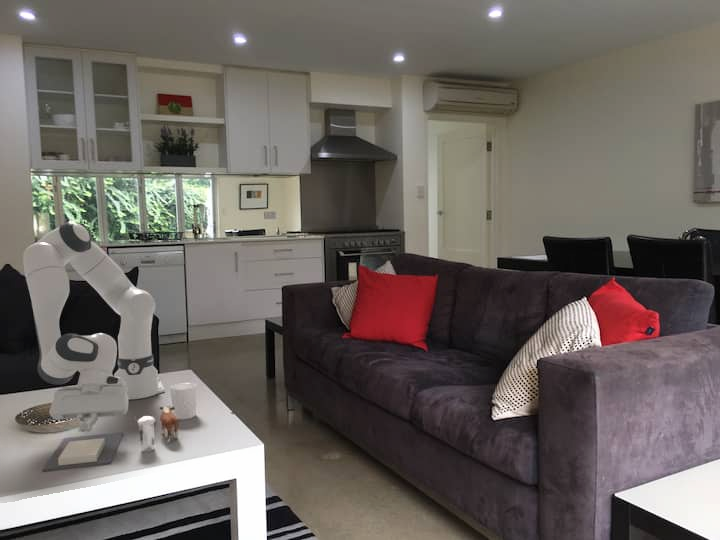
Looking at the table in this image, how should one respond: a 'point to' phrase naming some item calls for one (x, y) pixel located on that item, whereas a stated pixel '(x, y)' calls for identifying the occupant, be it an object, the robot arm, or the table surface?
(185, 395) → the white cup
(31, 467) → the table surface
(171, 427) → the bull figurine
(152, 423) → the milkshake
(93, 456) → the tile
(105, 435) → the mat
